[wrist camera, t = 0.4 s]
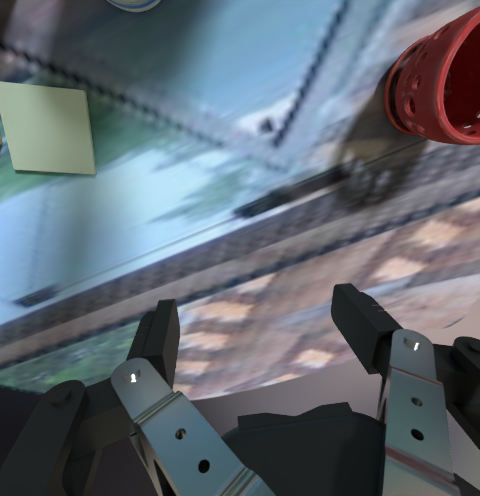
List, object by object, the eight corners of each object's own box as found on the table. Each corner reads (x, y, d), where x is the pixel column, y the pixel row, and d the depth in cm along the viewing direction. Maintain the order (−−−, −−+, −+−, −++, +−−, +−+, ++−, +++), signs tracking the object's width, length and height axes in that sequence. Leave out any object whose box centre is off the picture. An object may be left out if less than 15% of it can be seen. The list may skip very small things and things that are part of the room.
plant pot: (378, 37, 34) (460, -10, 23) (472, 34, 35) (592, -13, 24) (365, 145, 39) (426, 149, 28) (447, 139, 40) (536, 141, 29)
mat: (-4, 81, 31) (-8, 80, 31) (86, 91, 33) (84, 90, 32) (16, 168, 35) (13, 169, 35) (96, 173, 36) (94, 174, 36)
